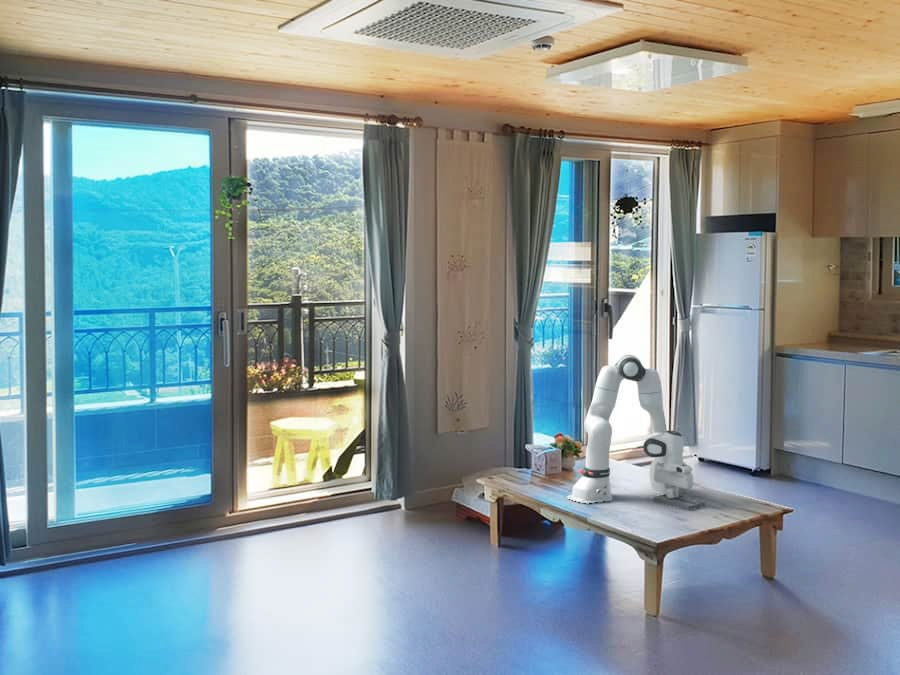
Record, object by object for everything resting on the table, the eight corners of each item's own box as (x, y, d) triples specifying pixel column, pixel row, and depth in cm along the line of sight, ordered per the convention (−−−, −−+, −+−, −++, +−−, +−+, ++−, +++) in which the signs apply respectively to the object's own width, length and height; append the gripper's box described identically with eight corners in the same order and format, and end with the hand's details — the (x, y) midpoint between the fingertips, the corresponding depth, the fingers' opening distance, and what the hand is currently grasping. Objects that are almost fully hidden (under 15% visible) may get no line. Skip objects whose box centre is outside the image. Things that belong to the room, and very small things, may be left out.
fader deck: (688, 510, 394) (688, 506, 394) (653, 501, 410) (653, 496, 410) (704, 506, 402) (704, 501, 402) (669, 496, 417) (669, 492, 417)
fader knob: (671, 500, 406) (672, 489, 405) (666, 499, 408) (666, 488, 408) (678, 499, 409) (678, 488, 408) (673, 497, 411) (673, 486, 411)
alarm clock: (686, 498, 415) (687, 458, 414) (672, 500, 413) (673, 459, 411) (662, 487, 436) (663, 449, 434) (649, 489, 433) (649, 450, 432)
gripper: (651, 462, 413) (650, 491, 414) (686, 470, 397) (686, 500, 398) (659, 460, 417) (658, 488, 418) (695, 468, 401) (694, 497, 402)
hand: (672, 494), depth 408 cm, fingers closed on fader knob, 3 cm apart
